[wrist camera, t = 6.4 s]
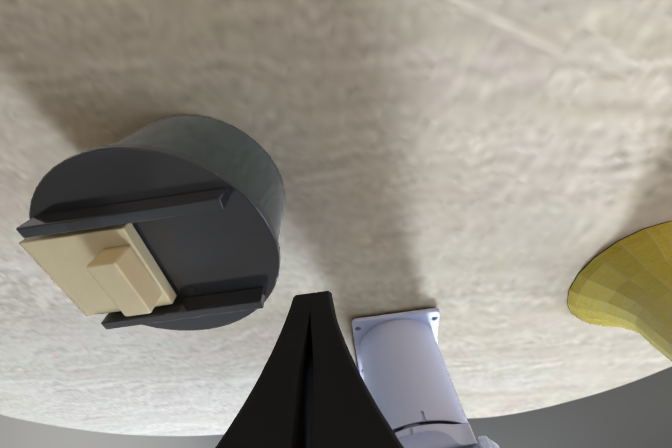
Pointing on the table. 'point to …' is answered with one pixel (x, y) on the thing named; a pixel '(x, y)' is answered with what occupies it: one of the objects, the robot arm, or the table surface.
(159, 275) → the slider
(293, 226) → the table surface
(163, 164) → the canister
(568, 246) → the table surface
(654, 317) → the handbell
